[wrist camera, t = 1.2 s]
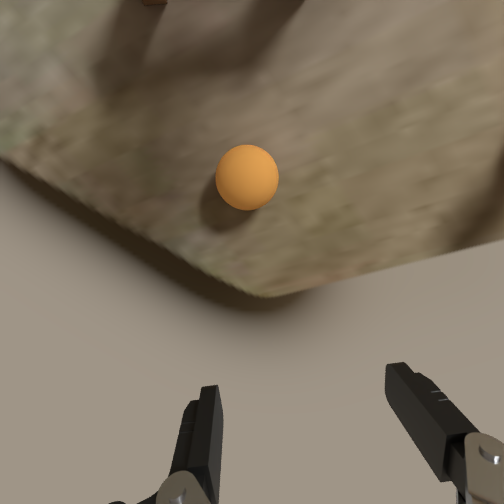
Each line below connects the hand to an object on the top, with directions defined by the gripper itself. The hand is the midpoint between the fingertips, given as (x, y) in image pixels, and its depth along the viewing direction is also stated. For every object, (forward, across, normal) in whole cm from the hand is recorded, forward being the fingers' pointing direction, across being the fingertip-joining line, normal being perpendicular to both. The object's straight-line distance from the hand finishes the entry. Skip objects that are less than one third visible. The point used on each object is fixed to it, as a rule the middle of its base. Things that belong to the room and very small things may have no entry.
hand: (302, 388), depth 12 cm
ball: (+16, +1, -10) cm, 19 cm away
